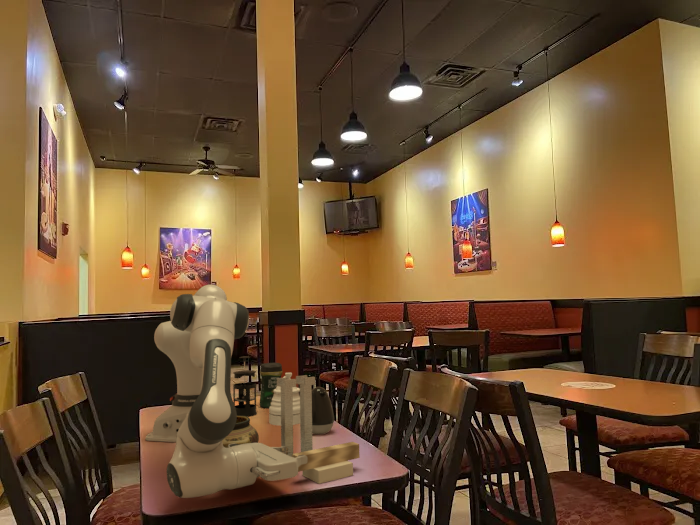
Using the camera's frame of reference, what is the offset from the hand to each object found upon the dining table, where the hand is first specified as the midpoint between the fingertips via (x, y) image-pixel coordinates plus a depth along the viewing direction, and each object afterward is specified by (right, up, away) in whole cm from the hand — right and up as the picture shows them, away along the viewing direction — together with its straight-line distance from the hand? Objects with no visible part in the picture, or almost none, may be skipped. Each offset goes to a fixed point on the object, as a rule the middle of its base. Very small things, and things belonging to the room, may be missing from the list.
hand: (296, 454), depth 125 cm
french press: (-29, -15, +82) cm, 88 cm away
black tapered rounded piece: (+3, -11, +49) cm, 50 cm away
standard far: (+1, -8, +18) cm, 20 cm away
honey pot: (-11, -13, +67) cm, 69 cm away
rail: (+7, -4, +5) cm, 10 cm away
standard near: (-4, -8, +15) cm, 17 cm away
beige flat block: (+7, -7, +5) cm, 11 cm away
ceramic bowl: (-20, -8, +12) cm, 25 cm away
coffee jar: (-21, -16, +97) cm, 100 cm away
